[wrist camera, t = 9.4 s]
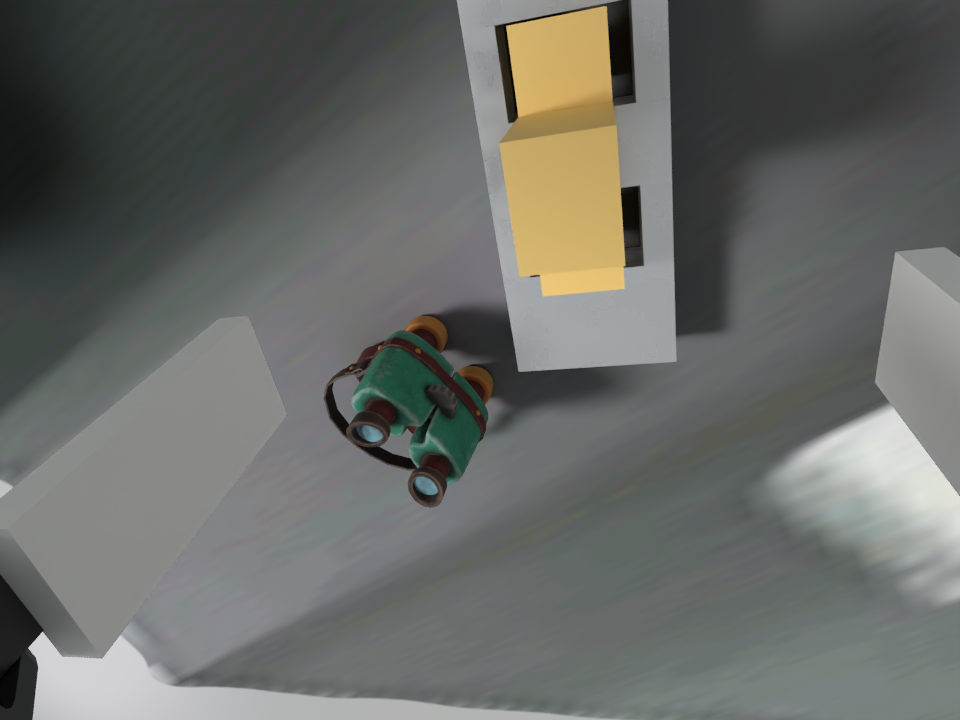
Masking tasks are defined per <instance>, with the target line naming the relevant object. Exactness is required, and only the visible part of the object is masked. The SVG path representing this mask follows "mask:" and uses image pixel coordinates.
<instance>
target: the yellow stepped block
mask: <svg viewBox="0 0 960 720" xmlns="http://www.w3.org/2000/svg"><path fill="white" fill-rule="evenodd" d="M506 29H507V36H508V43H509V51H510V58H511V66H512V73H513V80H514V88H515V95H516V103H517V110H518V118H517V119H516V121H515V122H514V124H513V125H512V126H511V128H510V129H509V130H508V132H507V133H506V134H505V136H504V137H503V139H502V140H501V141H500V143H499V145H500V152H501V159H502V165H503V172H504V178H505V185H506V191H507V198H508V205H509V211H510V218H511V224H512V231H513V237H514V244H515V251H516V257H517V264H518V270H519V277H522V276H531V275H540V280H541V288H542V295H543V297H544V296H554V295H565V294H576V293H586V292H597V291H608V290H619V289H625V282H624V267H623V266H625V250H624V235H623V219H622V203H621V187H620V171H619V155H618V140H617V125H616V118H615V112H614V106H613V97H612V82H611V66H610V51H609V36H608V20H607V6H604V7H599V8H594V9H589V10H584V11H578V12H573V13H568V14H563V15H558V16H553V17H548V18H543V19H538V20H533V21H528V22H523V23H518V24H513V25H508V26H506Z"/></svg>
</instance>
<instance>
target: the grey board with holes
mask: <svg viewBox="0 0 960 720" xmlns="http://www.w3.org/2000/svg"><path fill="white" fill-rule="evenodd" d="M616 1H621V0H457V4H458V10H459V16H460V22H461V28H462V34H463V40H464V46H465V52H466V58H467V64H468V70H469V76H470V82H471V88H472V94H473V100H474V106H475V112H476V118H477V124H478V130H479V136H480V143H481V149H482V155H483V161H484V167H485V173H486V179H487V185H488V191H489V197H490V203H491V209H492V215H493V221H494V227H495V233H496V239H497V245H498V251H499V257H500V263H501V269H502V275H503V281H504V287H505V293H506V299H507V305H508V311H509V317H510V323H511V329H512V335H513V341H514V347H515V353H516V359H517V365H518V371H519V372H526V371H541V370H556V369H571V368H587V367H602V366H617V365H632V364H648V363H663V362H676V326H675V283H674V240H673V197H672V153H671V110H670V67H669V24H668V0H628V5H629V25H630V45H631V65H632V85H633V95H629V96H623V97H617V98H613V106H614V112H615V118H616V125H617V140H618V155H619V171H620V187H621V188H624V187H632V186H638V205H639V225H640V245H641V247H633V248H624V250H625V266H623V267H624V282H625V289H619V290H608V291H597V292H586V293H576V294H565V295H554V296H544V297H543V295H542V288H541V280H540V275H531V276H522V277H519V270H518V264H517V257H516V251H515V244H514V237H513V231H512V224H511V218H510V211H509V205H508V198H507V191H506V185H505V178H504V172H503V165H502V159H501V152H500V145H499V143H500V141H501V140H502V139H503V137H504V136H505V134H506V133H507V132H508V130H509V129H510V128H511V126H512V125H513V124H514V122H515V121H516V119H517V118H518V114H515V107H514V100H513V93H512V85H511V78H510V71H509V63H508V56H507V49H506V41H505V34H504V27H503V24H506V23H511V22H516V21H521V20H526V19H531V18H536V17H541V16H546V15H551V14H556V13H561V12H566V11H571V10H576V9H581V8H586V7H591V6H596V5H601V4H606V3H611V2H616Z"/></svg>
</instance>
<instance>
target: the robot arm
mask: <svg viewBox="0 0 960 720" xmlns="http://www.w3.org/2000/svg"><path fill="white" fill-rule="evenodd" d="M875 383H876V384H877V386H878V387H879V389H880V390H881V391H882V393H883V394H884V395H885V397H886V398H887V399H888V401H889V402H890V403H891V405H892V406H893V407H894V409H895V410H896V411H897V413H898V414H899V415H900V417H901V418H902V419H903V421H904V422H905V423H906V425H907V426H908V427H909V429H910V430H911V431H912V433H913V434H914V435H915V437H916V438H917V439H918V441H919V442H920V443H921V445H922V446H923V447H924V449H925V450H926V452H927V453H928V454H929V456H930V457H931V458H932V460H933V461H934V462H935V464H936V465H937V466H938V468H939V469H940V470H941V472H942V473H943V474H944V476H945V477H946V478H947V480H948V481H949V482H950V484H951V485H952V486H953V488H954V489H955V490H956V492H957V493H958V494H959V496H960V257H958V256H957V255H955V254H954V253H952V252H951V251H949V250H948V249H947V248H945V247H940V248H930V249H920V250H909V251H899V252H895V258H894V264H893V271H892V277H891V283H890V290H889V296H888V302H887V309H886V315H885V321H884V328H883V334H882V340H881V347H880V353H879V359H878V366H877V372H876V379H875ZM286 416H287V414H286V411H285V409H284V406H283V404H282V401H281V398H280V396H279V393H278V391H277V388H276V386H275V383H274V381H273V378H272V376H271V373H270V370H269V368H268V365H267V363H266V360H265V358H264V355H263V353H262V350H261V347H260V345H259V342H258V340H257V337H256V335H255V332H254V330H253V327H252V325H251V322H250V319H249V317H248V316H241V317H231V318H220V319H218V320H217V321H215V322H214V323H213V324H212V325H210V326H209V327H208V328H207V329H206V330H204V331H203V332H202V333H201V334H200V335H198V336H197V337H196V338H195V339H193V340H192V341H191V342H190V343H189V344H187V345H186V346H185V347H184V348H183V349H181V350H180V351H179V352H178V353H176V354H175V355H174V356H173V357H172V358H170V359H169V360H168V361H167V362H166V363H164V364H163V365H162V366H161V367H159V368H158V369H157V370H156V371H155V372H153V373H152V374H151V375H150V376H149V377H147V378H146V379H145V380H144V381H142V382H141V383H140V384H139V385H138V386H136V387H135V388H134V389H133V390H131V391H130V392H129V393H128V394H127V395H125V396H124V397H123V398H122V399H121V400H119V401H118V402H117V403H116V404H114V405H113V406H112V407H111V408H110V409H108V410H107V411H106V412H105V413H104V414H102V415H101V416H100V417H99V418H97V419H96V420H95V421H94V422H93V423H91V424H90V425H89V426H88V427H87V428H85V429H84V430H83V431H82V432H80V433H79V434H78V435H77V436H76V437H74V438H73V439H72V440H71V441H70V442H68V443H67V444H66V445H65V446H63V447H62V448H61V449H60V450H59V451H57V452H56V453H55V454H54V455H52V456H51V457H50V458H49V459H48V460H46V461H45V462H44V463H43V464H42V465H40V466H39V467H38V468H37V469H35V470H34V471H33V472H32V473H31V474H29V475H28V476H27V477H26V478H25V479H23V480H22V481H21V482H20V483H18V484H17V485H16V486H15V487H14V488H12V489H11V490H10V491H9V492H8V493H6V494H5V495H4V496H3V497H1V498H0V720H32V717H33V708H34V699H35V690H36V681H37V672H38V665H37V661H36V658H35V656H34V655H33V654H32V653H31V651H30V650H29V649H28V647H29V646H30V645H31V644H32V643H33V642H34V641H35V639H36V638H37V637H38V636H39V635H40V633H42V631H43V632H44V633H45V635H46V636H47V637H48V639H49V640H50V641H51V643H52V644H53V645H54V646H55V648H56V649H57V650H58V651H59V653H60V654H61V655H62V656H65V657H66V656H67V657H87V658H103V657H104V655H105V654H106V653H107V651H108V650H109V649H110V647H111V646H112V645H113V643H114V642H115V641H116V640H117V638H118V637H119V636H120V634H121V633H122V632H123V630H124V629H125V628H126V626H127V625H128V624H129V622H130V621H131V620H132V618H133V617H134V616H135V615H136V613H137V612H138V611H139V609H140V608H141V607H142V605H143V604H144V603H145V601H146V600H147V599H148V597H149V596H150V595H151V593H152V592H153V591H154V589H155V588H156V587H157V586H158V584H159V583H160V582H161V580H162V579H163V578H164V576H165V575H166V574H167V572H168V571H169V570H170V568H171V567H172V566H173V564H174V563H175V562H176V561H177V559H178V558H179V557H180V555H181V554H182V553H183V551H184V550H185V549H186V547H187V546H188V545H189V543H190V542H191V541H192V539H193V538H194V537H195V536H196V534H197V533H198V532H199V530H200V529H201V528H202V526H203V525H204V524H205V522H206V521H207V520H208V518H209V517H210V516H211V514H212V513H213V512H214V510H215V509H216V508H217V507H218V505H219V504H220V503H221V501H222V500H223V499H224V497H225V496H226V495H227V493H228V492H229V491H230V489H231V488H232V487H233V485H234V484H235V483H236V482H237V480H238V479H239V478H240V476H241V475H242V474H243V472H244V471H245V470H246V468H247V467H248V466H249V464H250V463H251V462H252V460H253V459H254V458H255V457H256V455H257V454H258V453H259V451H260V450H261V449H262V447H263V446H264V445H265V443H266V442H267V441H268V439H269V438H270V437H271V435H272V434H273V433H274V432H275V430H276V429H277V428H278V426H279V425H280V424H281V422H282V421H283V420H284V418H285V417H286Z"/></svg>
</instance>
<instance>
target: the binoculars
mask: <svg viewBox="0 0 960 720" xmlns="http://www.w3.org/2000/svg"><path fill="white" fill-rule="evenodd" d="M446 342H447V331H446V328H445V327H444V325H443V324H442V323H441V322H440V321H439V320H438V319H436V318H434V317H430V316H420V317H417V318H415V319H414V320H412V321H411V322H410V324H409V325H408V327H407V328H406V330H405V331H398V332H396V333H394V334H393V335H392V336H390V337H389V338H388V339H387V340H386V341H385V342H384V344H383V345H379V346H372V347H368V348H366V349H365V350H364V351H363V352H362V354H361V356H360V358H359V359H358V361H357V363H355V364H351V365H350V366H348V367H347V368H345V369H343V370H341V371H340V372H339V373H337V374H336V375H335V376H333V378H332V379H331V380H330V381H329V383H328V384H327V385H326V389H325V394H324V401H325V404H326V408H327V412H328V415H329V418H330V420H331V421H332V422H333V424H334V425H335V426H336V427H337V429H338V430H339V431H340V432H341V434H342V435H343V436H344V437H346V438H347V439H348V440H349V441H350V442H352V443H353V444H354V445H355V446H356V447H358V448H359V449H361V450H362V451H364V452H365V453H367V454H368V455H370V456H371V457H373V458H375V459H377V460H379V461H381V462H383V463H385V464H387V465H390V466H394V467H398V468H402V469H406V470H414V471H413V472H412V474H411V476H410V478H409V480H408V489H409V492H410V494H411V496H412V497H413V498H414V500H415V501H417V502H418V503H419V504H421V505H422V506H425V507H436V506H438V505H439V504H440V503H441V501H442V499H443V496H444V493H445V491H446V488H447V485H450V484H452V483H455V482H457V481H458V480H459V479H460V478H461V476H462V475H463V473H464V471H465V469H466V467H467V465H468V463H469V461H470V459H471V457H472V454H473V452H474V450H475V448H476V446H477V444H478V442H479V441H481V440H482V439H483V436H484V434H485V431H486V423H487V420H488V412H487V409H486V407H485V405H484V404H486V403H487V401H488V400H489V398H490V395H491V393H492V390H493V380H492V377H491V376H490V374H489V373H488V372H487V371H486V370H484V369H482V368H480V367H476V366H469V367H465V368H463V369H461V370H460V371H458V372H455V373H454V375H453V377H451V375H452V373H453V369H454V368H453V367H452V366H451V364H450V363H449V362H448V361H447V360H446V359H445V358H444V357H443V356H442V355H441V354H440V353H441V352H442V350H443V348H444V347H445V345H446ZM349 375H355V376H356V377H357V379H358V380H359V382H360V384H359V385H358V387H357V389H356V391H355V392H354V395H353V397H352V400H351V404H352V406H353V408H354V410H355V411H356V412H357V413H358V414H357V415H356V416H355V417H354V419H353V420H352V422H351V423H350V425H349V424H348V422H347V421H346V420H345V418H344V417H343V416H342V415H341V413H340V412H339V411H338V409H337V406H336V403H335V399H334V395H333V391H332V387H333V383H334V381H336V380H337V379H340V378H343V377H346V376H349ZM407 428H408V430H409V431H410V432H411V433H413V436H412V439H411V441H410V445H409V448H408V452H409V455H410V458H411V459H410V458H406V457H403V456H399V455H395V454H392V453H390V452H388V451H386V450H384V449H382V448H380V447H378V446H380V445H383V444H384V443H385V442H386V441H387V439H388V437H389V436H390V435H392V436H400V435H402V434H403V433H404V432H405V431H406V429H407Z"/></svg>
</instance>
